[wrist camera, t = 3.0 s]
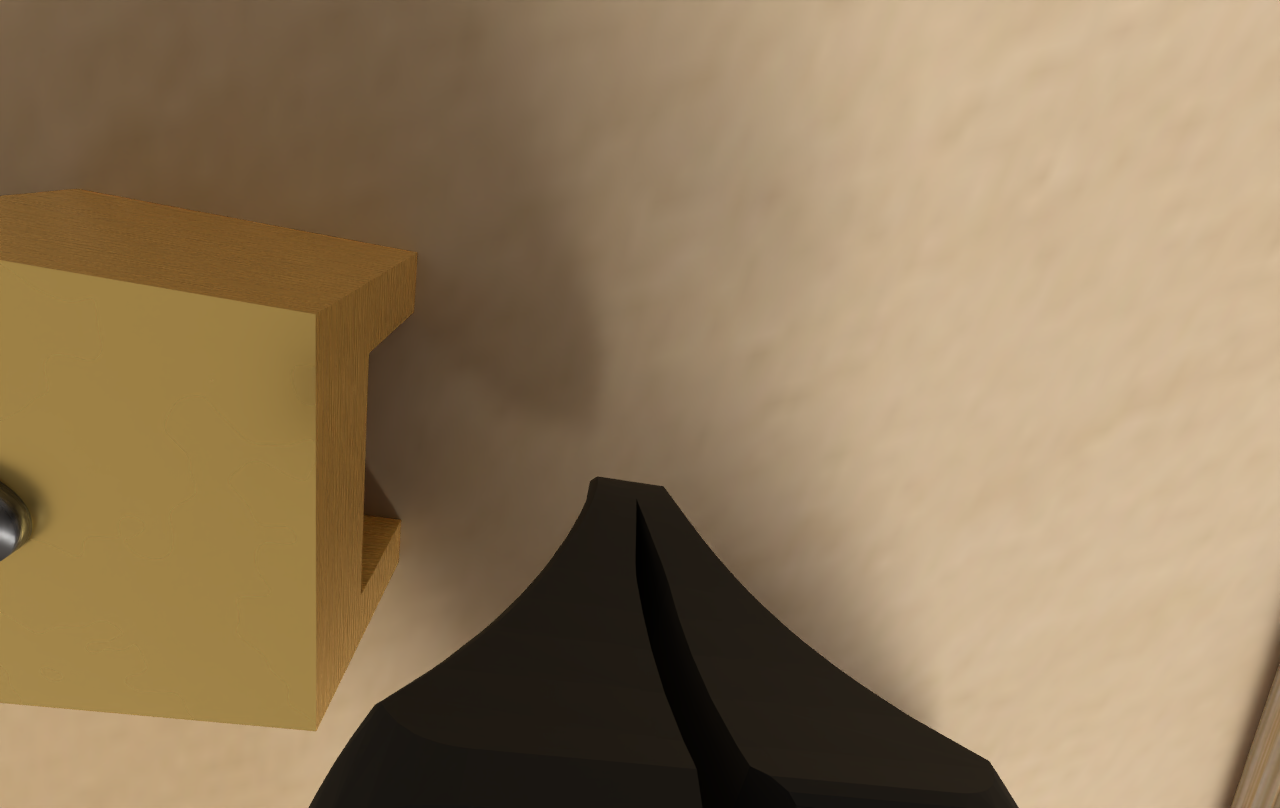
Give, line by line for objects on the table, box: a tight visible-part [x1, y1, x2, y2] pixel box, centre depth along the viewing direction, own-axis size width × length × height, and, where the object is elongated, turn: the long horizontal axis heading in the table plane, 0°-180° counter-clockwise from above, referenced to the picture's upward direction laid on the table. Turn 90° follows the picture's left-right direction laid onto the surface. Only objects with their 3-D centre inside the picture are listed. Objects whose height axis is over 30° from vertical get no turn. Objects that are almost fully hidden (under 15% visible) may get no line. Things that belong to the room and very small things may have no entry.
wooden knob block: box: [0, 189, 418, 731], centre depth 11 cm, size 6×7×5 cm
